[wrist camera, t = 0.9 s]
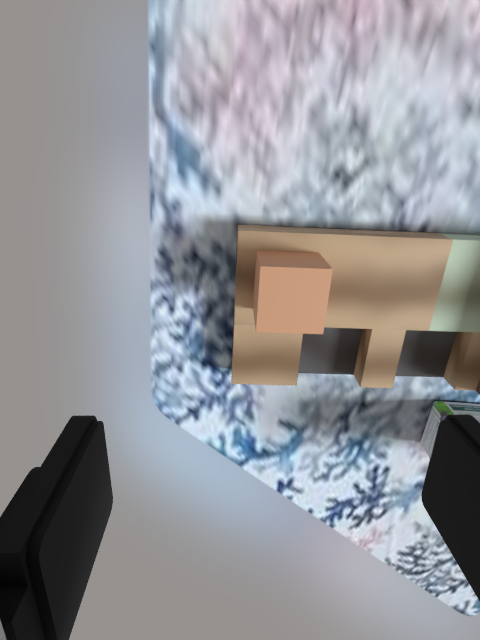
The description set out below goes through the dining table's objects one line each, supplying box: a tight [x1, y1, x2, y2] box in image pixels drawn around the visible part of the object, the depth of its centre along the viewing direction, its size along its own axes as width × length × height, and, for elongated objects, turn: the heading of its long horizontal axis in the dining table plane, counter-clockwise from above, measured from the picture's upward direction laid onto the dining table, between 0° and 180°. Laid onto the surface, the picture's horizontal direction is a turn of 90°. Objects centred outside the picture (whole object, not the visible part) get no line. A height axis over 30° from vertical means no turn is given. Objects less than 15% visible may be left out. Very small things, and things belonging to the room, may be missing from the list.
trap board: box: [232, 225, 480, 394], centre depth 33 cm, size 14×24×6 cm, turn 87°
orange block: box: [253, 250, 333, 334], centre depth 30 cm, size 5×5×4 cm
